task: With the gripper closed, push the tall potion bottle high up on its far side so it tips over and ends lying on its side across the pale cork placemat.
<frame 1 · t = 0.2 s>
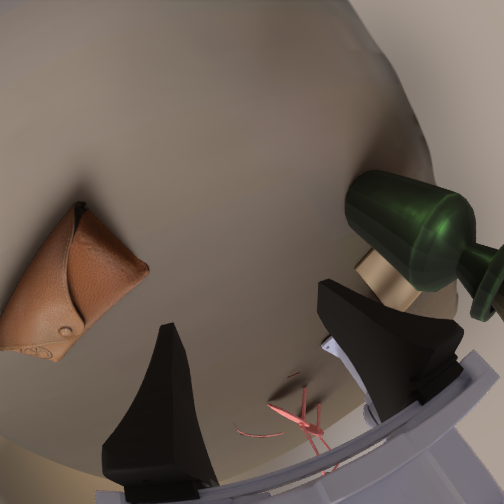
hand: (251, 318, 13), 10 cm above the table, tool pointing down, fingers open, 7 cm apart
sunglasses case: (61, 295, 20), on the table
figurine: (276, 414, 40), on the table
placemat: (406, 267, 31), on the table
potion bottle: (368, 201, 25), on the table
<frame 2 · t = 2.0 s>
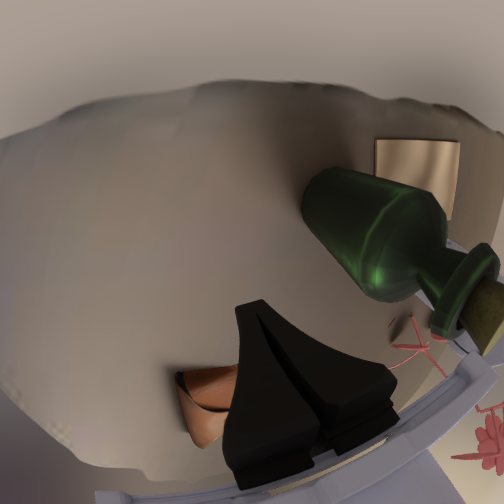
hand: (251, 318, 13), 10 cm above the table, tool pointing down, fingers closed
sunglasses case: (211, 401, 33), on the table
figurine: (408, 340, 43), on the table
placemat: (421, 186, 26), on the table
potion bottle: (330, 201, 24), on the table
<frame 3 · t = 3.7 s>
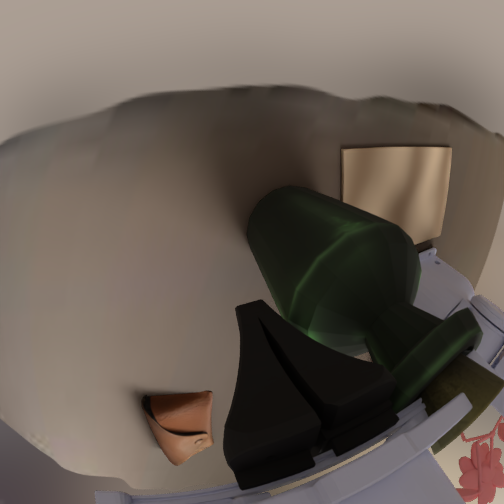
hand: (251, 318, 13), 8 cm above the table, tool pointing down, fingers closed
sunglasses case: (183, 421, 31), on the table
figurine: (393, 360, 40), on the table
placemat: (404, 200, 24), on the table
potion bottle: (285, 225, 21), on the table, touching gripper
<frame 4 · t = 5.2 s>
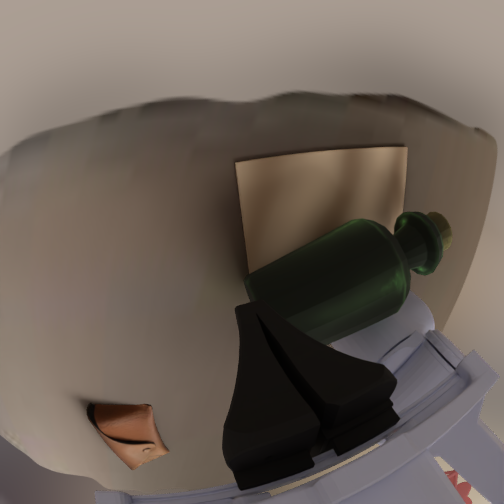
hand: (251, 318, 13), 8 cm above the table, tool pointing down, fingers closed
sunglasses case: (134, 430, 30), on the table
figurine: (355, 381, 38), on the table
placemat: (336, 215, 22), on the table
potion bottle: (257, 321, 19), point 4 cm above the table, touching placemat
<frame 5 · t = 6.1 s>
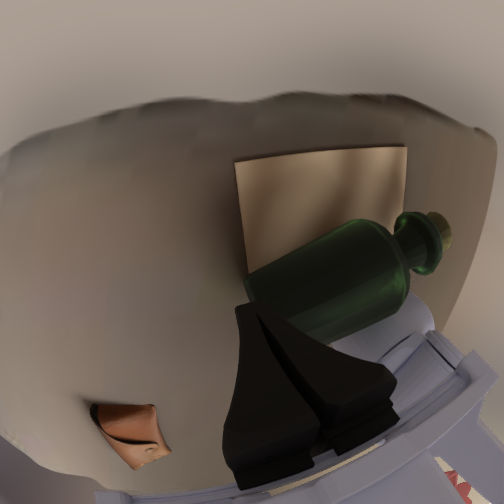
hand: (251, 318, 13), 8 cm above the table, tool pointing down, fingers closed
sunglasses case: (136, 430, 30), on the table
figurine: (354, 381, 38), on the table
placemat: (336, 215, 22), on the table
potion bottle: (257, 321, 19), point 4 cm above the table, touching arm, placemat
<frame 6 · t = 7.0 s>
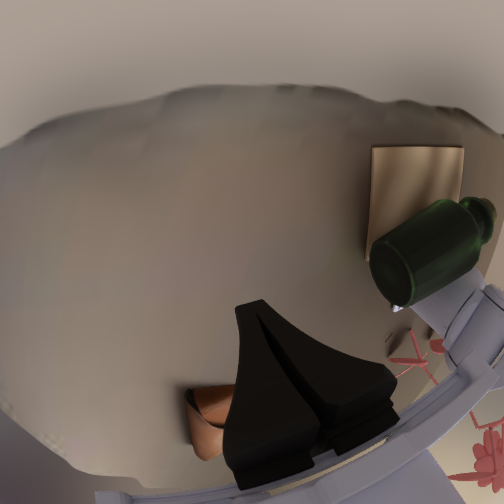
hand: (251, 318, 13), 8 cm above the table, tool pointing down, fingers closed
sunglasses case: (217, 415, 32), on the table
figurine: (406, 353, 41), on the table
placemat: (423, 197, 24), on the table
potion bottle: (387, 276, 21), point 4 cm above the table, touching placemat
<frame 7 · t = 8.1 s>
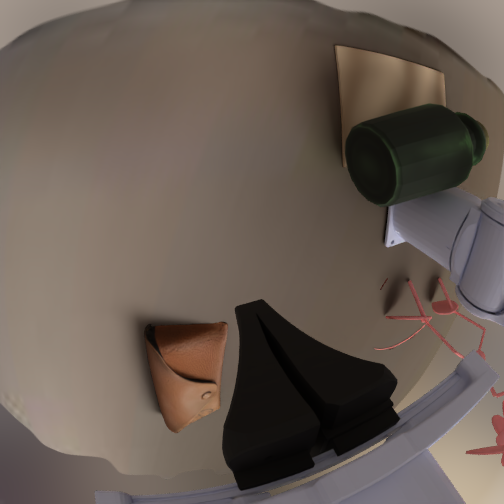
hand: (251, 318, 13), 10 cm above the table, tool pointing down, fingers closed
sunglasses case: (188, 373, 29), on the table
figurine: (406, 314, 38), on the table
placemat: (403, 109, 21), on the table
potion bottle: (366, 167, 18), point 4 cm above the table, touching placemat
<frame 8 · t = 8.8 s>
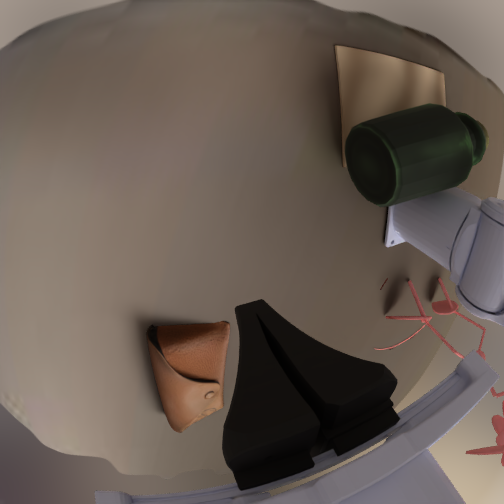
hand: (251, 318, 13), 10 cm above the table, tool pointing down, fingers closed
sunglasses case: (191, 373, 29), on the table
figurine: (406, 314, 38), on the table
placemat: (403, 109, 21), on the table
potion bottle: (366, 167, 18), point 4 cm above the table, touching placemat
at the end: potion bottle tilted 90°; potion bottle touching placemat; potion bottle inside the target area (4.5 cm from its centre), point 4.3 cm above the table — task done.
